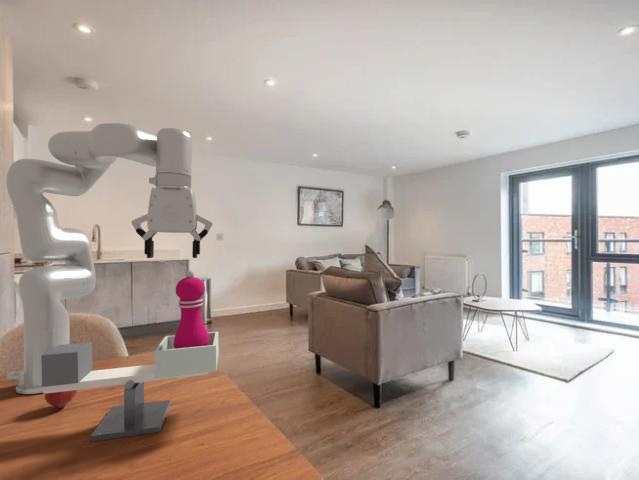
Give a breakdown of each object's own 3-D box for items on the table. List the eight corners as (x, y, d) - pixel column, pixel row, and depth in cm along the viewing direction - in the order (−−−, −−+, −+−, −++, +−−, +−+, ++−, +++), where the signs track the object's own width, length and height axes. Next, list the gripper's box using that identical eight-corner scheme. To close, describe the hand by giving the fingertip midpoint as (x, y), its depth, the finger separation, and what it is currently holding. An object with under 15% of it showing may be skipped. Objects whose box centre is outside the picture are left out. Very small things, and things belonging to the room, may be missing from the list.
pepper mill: (198, 368, 69) (195, 271, 69) (166, 366, 71) (164, 271, 71) (215, 356, 76) (213, 268, 77) (186, 355, 78) (184, 268, 78)
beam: (35, 404, 62) (34, 359, 62) (65, 379, 73) (65, 341, 73) (216, 381, 70) (215, 342, 70) (218, 362, 81) (218, 328, 81)
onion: (51, 416, 73) (51, 379, 73) (40, 409, 76) (40, 374, 76) (81, 405, 78) (81, 370, 78) (70, 399, 81) (70, 366, 81)
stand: (90, 441, 64) (90, 398, 64) (112, 411, 75) (112, 375, 75) (159, 431, 67) (159, 391, 67) (170, 404, 78) (170, 369, 78)
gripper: (127, 179, 72) (126, 258, 72) (211, 183, 76) (210, 258, 76) (137, 184, 80) (136, 257, 79) (213, 188, 84) (213, 257, 84)
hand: (172, 257), depth 78 cm, fingers open, 9 cm apart
